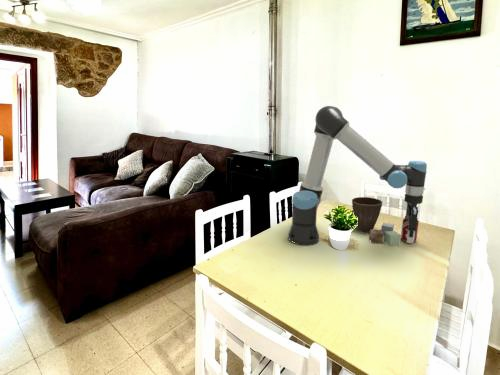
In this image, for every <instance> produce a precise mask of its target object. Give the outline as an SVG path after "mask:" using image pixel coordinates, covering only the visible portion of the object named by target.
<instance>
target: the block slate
mask: <svg viewBox="0 0 500 375" xmlns="http://www.w3.org/2000/svg"><path fill="white" fill-rule="evenodd" d="M394 225H395V224H393V223H389V222H388V223H386V222H383V223H382V224H381V227H380V228H381V229H380V230H381V231H382V232H383V234H384V235H385V231H394V229H395V228H394V227H395V226H394Z"/></svg>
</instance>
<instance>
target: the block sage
mask: <svg viewBox="0 0 500 375" xmlns="http://www.w3.org/2000/svg"><path fill="white" fill-rule="evenodd" d="M383 242H384V243H386V244H387V245H388V246H400V243H401V233H398V232H397V231H395V230H393V231H385V235H384V236H383Z"/></svg>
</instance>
